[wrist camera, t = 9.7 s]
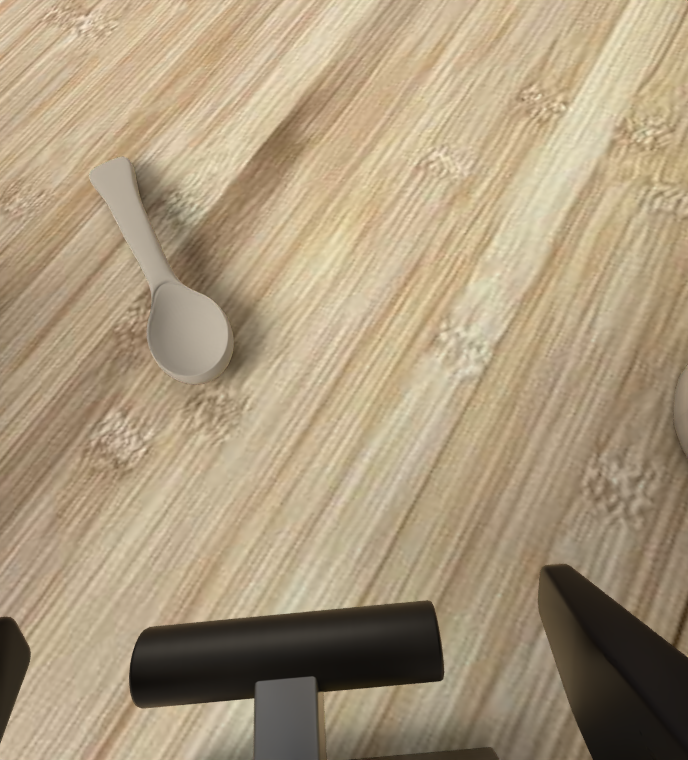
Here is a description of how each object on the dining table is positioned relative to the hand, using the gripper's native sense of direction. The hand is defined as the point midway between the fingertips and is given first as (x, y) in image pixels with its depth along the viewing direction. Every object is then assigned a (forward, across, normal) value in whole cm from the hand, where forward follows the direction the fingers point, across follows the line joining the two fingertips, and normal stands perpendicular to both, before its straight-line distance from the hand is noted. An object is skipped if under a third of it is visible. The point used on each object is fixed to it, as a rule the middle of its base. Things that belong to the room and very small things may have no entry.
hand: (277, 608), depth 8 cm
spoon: (+14, +6, -3) cm, 16 cm away
